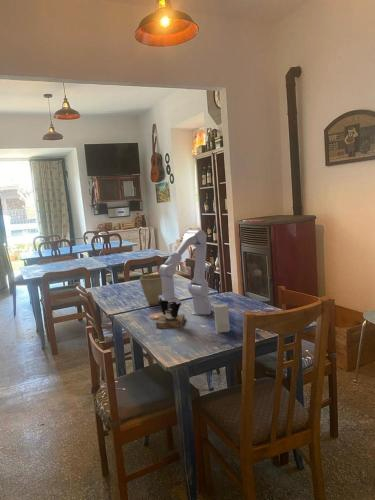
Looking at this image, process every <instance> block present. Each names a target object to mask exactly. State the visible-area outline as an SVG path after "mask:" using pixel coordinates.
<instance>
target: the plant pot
mask: <svg viewBox="0 0 375 500" xmlns="http://www.w3.org/2000/svg"><path fill="white" fill-rule="evenodd" d="M139 281H140V285H141V289H142V291H143V294H144V297H145V299H146V301H147V303H148V305H157V304H158V305H159V303H158V301H160V300H159V298H158V296H159V295H163V291H162V279H161V276H160V275H159V273H157V274H156V273H154V274H153V273H152V274H145V275H142V276H140V277H139Z"/></svg>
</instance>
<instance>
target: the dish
mask: <svg viewBox="0 0 375 500" xmlns="http://www.w3.org/2000/svg"><path fill="white" fill-rule="evenodd" d="M161 315H164V314H163V312H157V313H152V314H150V315H149V319H150V320H157V321H158V319H159V318H160V316H161ZM165 315H166V314H165Z"/></svg>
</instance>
